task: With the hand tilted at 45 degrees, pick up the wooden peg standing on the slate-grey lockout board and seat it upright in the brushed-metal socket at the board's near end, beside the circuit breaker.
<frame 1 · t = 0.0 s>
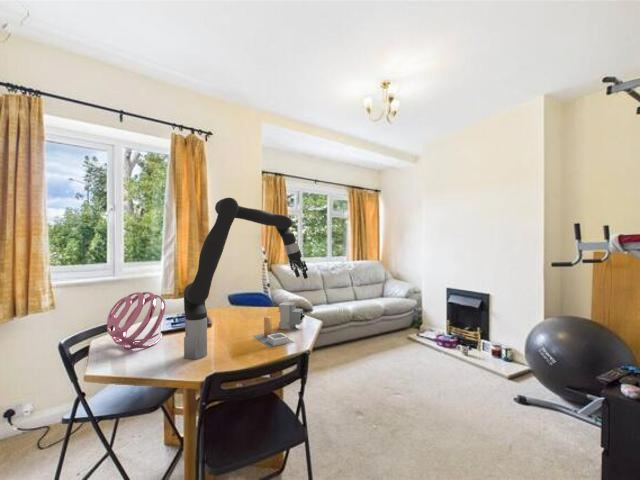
hand: (302, 277, 172), 31 cm above the table, tool tilted 20°, fingers open, 8 cm apart
spiral basket: (136, 346, 153), on the table
lockout board: (272, 340, 160), on the table
circuit breaker: (292, 329, 181), on the table
wooden peg: (267, 335, 165), point 1 cm above the table, touching lockout board
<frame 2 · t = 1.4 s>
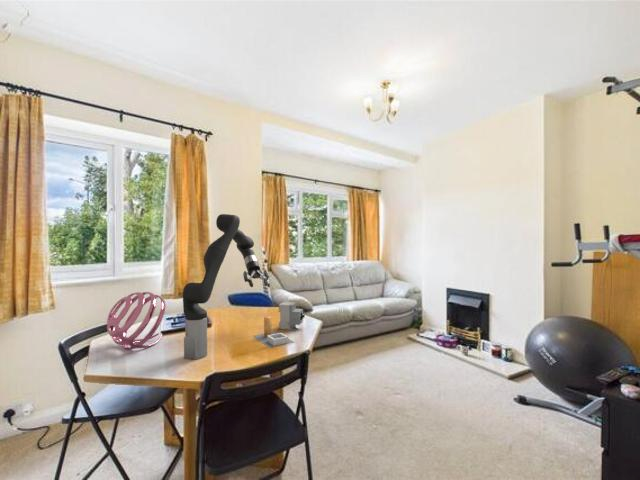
hand: (259, 285, 175), 27 cm above the table, tool tilted 45°, fingers open, 8 cm apart
nothing on the table moved.
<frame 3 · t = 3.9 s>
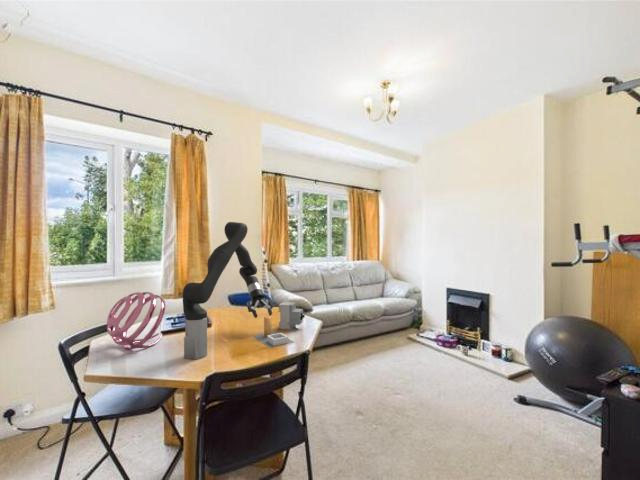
hand: (263, 316, 169), 11 cm above the table, tool tilted 45°, fingers open, 8 cm apart
nothing on the table moved.
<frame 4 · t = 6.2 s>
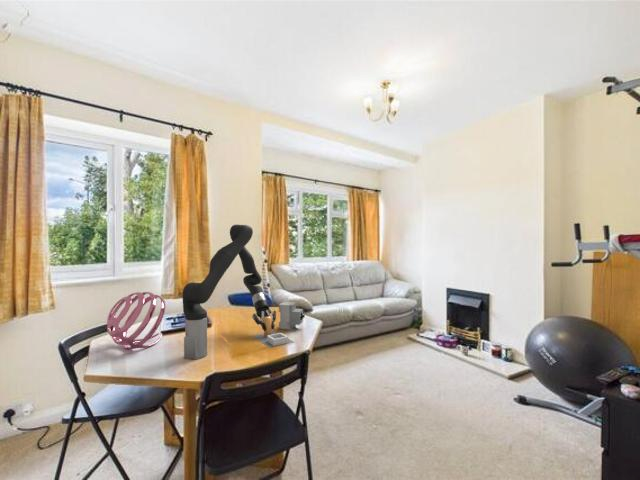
hand: (269, 329, 164), 5 cm above the table, tool tilted 45°, fingers closed on wooden peg, 4 cm apart
wooden peg: (267, 335, 165), point 1 cm above the table, touching gripper, lockout board
everything else where it was.
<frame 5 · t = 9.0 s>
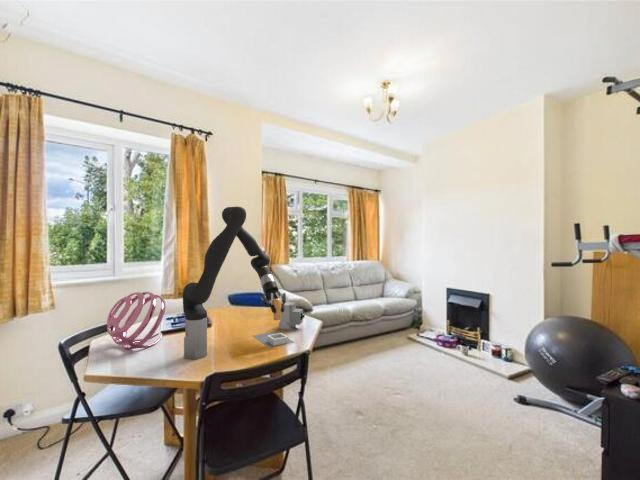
hand: (279, 311, 154), 17 cm above the table, tool tilted 45°, fingers closed on wooden peg, 4 cm apart
wooden peg: (277, 319, 155), point 13 cm above the table, touching gripper
everything else where it was.
when the fingers open (6 cm above the table, at t = 12.0 s): wooden peg drops 1 cm, resting on lockout board.
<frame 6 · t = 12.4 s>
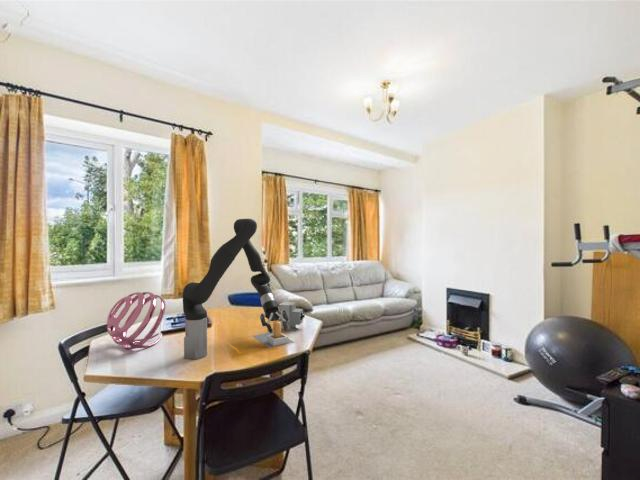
hand: (278, 330, 154), 7 cm above the table, tool tilted 45°, fingers open, 8 cm apart
wooden peg: (277, 341, 155), point 1 cm above the table, touching lockout board
everything else where it was.
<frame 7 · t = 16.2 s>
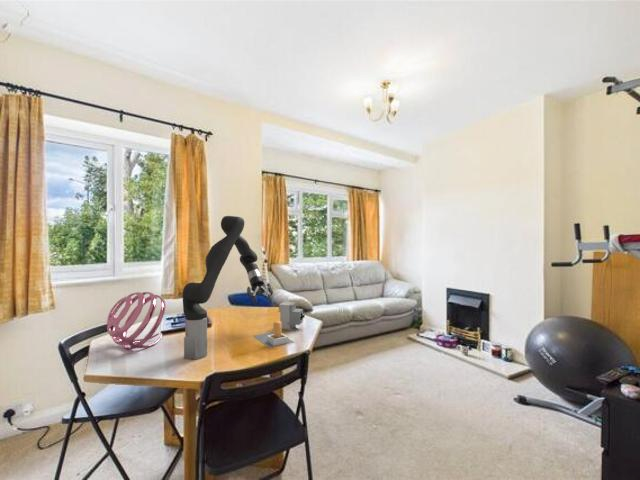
hand: (263, 302, 170), 18 cm above the table, tool tilted 45°, fingers open, 8 cm apart
nothing on the table moved.
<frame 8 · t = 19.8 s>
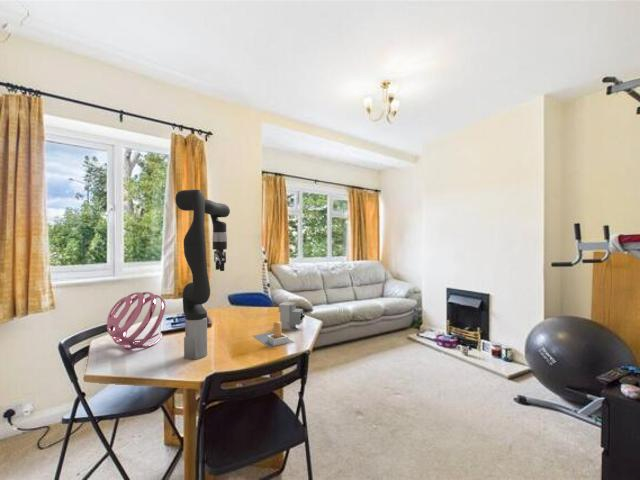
hand: (219, 270, 169), 36 cm above the table, tool pointing down, fingers open, 8 cm apart
nothing on the table moved.
at the end: wooden peg 0.0 cm from the target spot on the lockout board, point 1.0 cm above the lockout board's base; wooden peg tilted 1°; the gripper is holding nothing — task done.
